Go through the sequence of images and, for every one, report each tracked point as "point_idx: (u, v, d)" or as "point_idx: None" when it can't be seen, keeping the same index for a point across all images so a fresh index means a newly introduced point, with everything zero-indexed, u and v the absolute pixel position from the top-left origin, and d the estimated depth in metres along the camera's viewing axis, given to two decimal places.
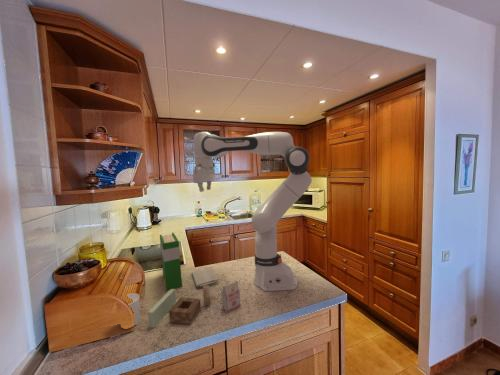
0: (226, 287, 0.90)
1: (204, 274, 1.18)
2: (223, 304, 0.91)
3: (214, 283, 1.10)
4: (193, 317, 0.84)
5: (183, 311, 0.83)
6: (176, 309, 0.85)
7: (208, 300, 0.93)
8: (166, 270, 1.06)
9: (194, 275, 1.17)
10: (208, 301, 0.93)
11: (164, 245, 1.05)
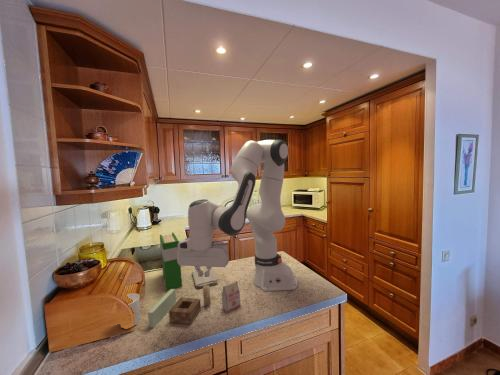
0: (226, 287, 0.90)
1: None
2: (223, 304, 0.91)
3: (213, 283, 1.10)
4: (193, 317, 0.84)
5: (183, 311, 0.83)
6: (176, 309, 0.85)
7: (208, 300, 0.93)
8: (166, 270, 1.06)
9: (194, 275, 1.18)
10: (208, 301, 0.93)
11: (164, 245, 1.05)
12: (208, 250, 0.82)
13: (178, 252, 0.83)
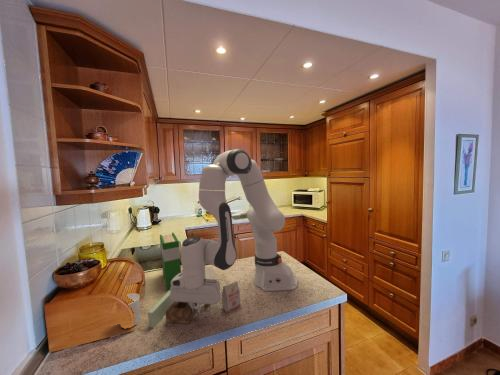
0: (226, 287, 0.90)
1: None
2: (223, 304, 0.91)
3: None
4: (189, 317, 0.85)
5: (179, 311, 0.84)
6: (172, 309, 0.85)
7: None
8: (166, 270, 1.06)
9: None
10: None
11: (164, 245, 1.05)
12: (200, 287, 0.83)
13: (171, 289, 0.85)
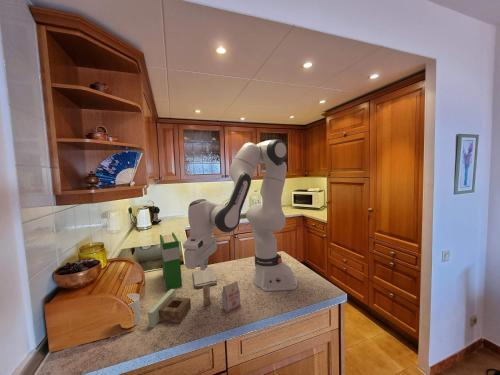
0: (226, 287, 0.90)
1: (204, 274, 1.18)
2: (223, 304, 0.91)
3: (212, 284, 1.10)
4: (182, 316, 0.85)
5: (172, 310, 0.84)
6: (165, 308, 0.86)
7: (208, 300, 0.93)
8: (166, 270, 1.06)
9: (194, 275, 1.18)
10: (208, 301, 0.93)
11: (164, 245, 1.05)
12: None
13: (195, 254, 0.83)
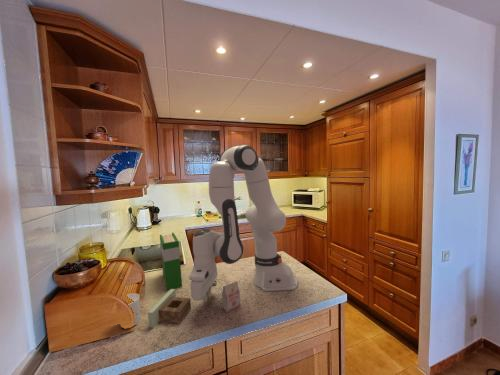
0: (226, 287, 0.90)
1: None
2: (223, 304, 0.91)
3: (212, 284, 1.10)
4: (182, 316, 0.85)
5: (172, 310, 0.84)
6: (165, 308, 0.86)
7: (208, 300, 0.93)
8: (166, 270, 1.06)
9: None
10: (208, 301, 0.93)
11: (164, 245, 1.05)
12: None
13: (202, 286, 0.85)
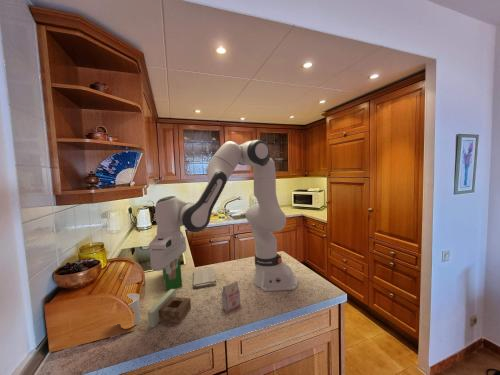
0: (226, 287, 0.90)
1: (204, 274, 1.17)
2: (223, 304, 0.91)
3: (211, 284, 1.09)
4: (182, 316, 0.85)
5: (172, 310, 0.84)
6: (165, 308, 0.86)
7: (173, 273, 0.86)
8: None
9: (194, 274, 1.18)
10: (173, 274, 0.86)
11: None
12: None
13: (162, 254, 0.77)
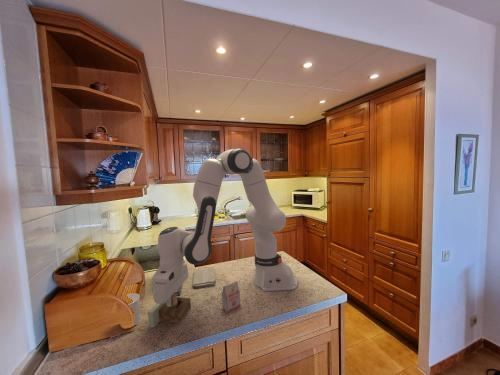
0: (226, 287, 0.90)
1: (204, 274, 1.17)
2: (223, 304, 0.91)
3: (211, 284, 1.09)
4: (182, 316, 0.85)
5: (172, 310, 0.84)
6: (165, 308, 0.86)
7: (175, 307, 0.88)
8: None
9: (194, 274, 1.18)
10: None
11: None
12: None
13: (165, 288, 0.79)
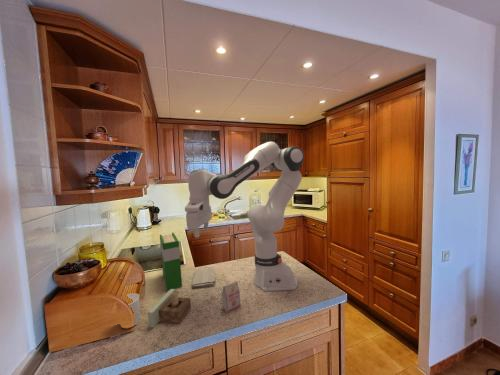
0: (226, 287, 0.90)
1: (204, 274, 1.17)
2: (223, 304, 0.91)
3: (210, 285, 1.09)
4: (182, 316, 0.85)
5: (172, 310, 0.84)
6: (165, 308, 0.86)
7: (176, 307, 0.88)
8: (166, 270, 1.06)
9: (195, 274, 1.19)
10: None
11: (164, 245, 1.05)
12: (206, 208, 1.03)
13: (196, 216, 0.91)
